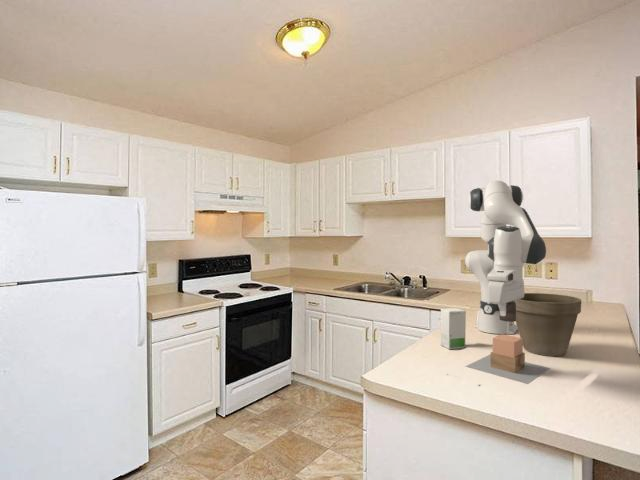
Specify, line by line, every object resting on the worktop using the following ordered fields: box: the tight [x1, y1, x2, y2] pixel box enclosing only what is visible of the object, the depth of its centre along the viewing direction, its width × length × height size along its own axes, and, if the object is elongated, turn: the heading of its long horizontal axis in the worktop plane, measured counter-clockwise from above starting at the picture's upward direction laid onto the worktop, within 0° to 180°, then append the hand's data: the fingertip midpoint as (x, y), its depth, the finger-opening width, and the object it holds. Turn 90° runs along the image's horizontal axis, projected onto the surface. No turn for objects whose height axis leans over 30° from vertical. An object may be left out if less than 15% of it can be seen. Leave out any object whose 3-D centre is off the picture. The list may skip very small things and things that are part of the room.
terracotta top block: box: [492, 334, 524, 357], centre depth 127 cm, size 7×7×5 cm
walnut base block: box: [490, 351, 526, 373], centre depth 127 cm, size 8×8×5 cm
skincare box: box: [439, 307, 467, 350], centre depth 155 cm, size 8×7×16 cm
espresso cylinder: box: [500, 302, 516, 323], centre depth 127 cm, size 5×5×6 cm
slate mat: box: [464, 353, 551, 385], centre depth 127 cm, size 20×20×2 cm
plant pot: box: [515, 292, 582, 357], centre depth 149 cm, size 25×25×22 cm
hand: (507, 314), depth 127 cm, fingers closed on espresso cylinder, 5 cm apart
